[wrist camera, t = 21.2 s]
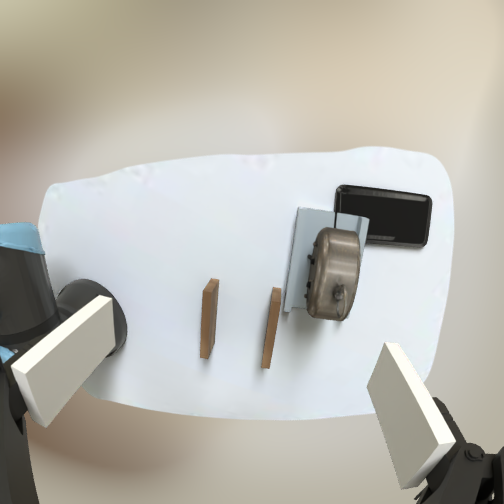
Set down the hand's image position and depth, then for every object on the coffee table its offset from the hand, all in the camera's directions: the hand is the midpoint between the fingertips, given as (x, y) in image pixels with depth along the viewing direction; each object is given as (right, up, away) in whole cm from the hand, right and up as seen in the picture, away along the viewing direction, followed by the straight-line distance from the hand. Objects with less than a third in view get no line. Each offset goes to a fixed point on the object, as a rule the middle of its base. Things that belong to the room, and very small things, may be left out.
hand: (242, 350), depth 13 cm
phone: (+19, +10, +27) cm, 34 cm away
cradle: (+11, +3, +29) cm, 31 cm away
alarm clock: (+10, +4, +28) cm, 30 cm away
